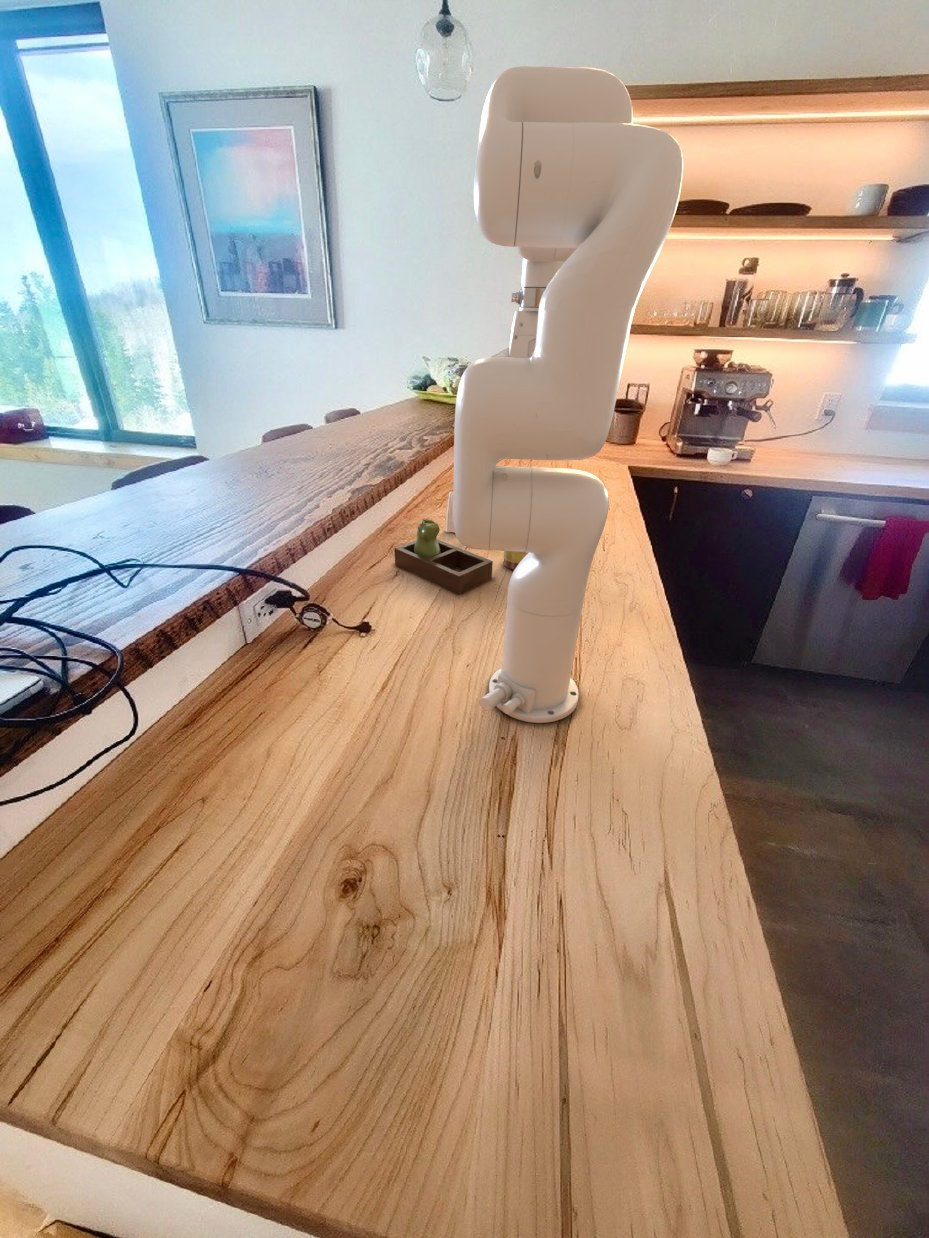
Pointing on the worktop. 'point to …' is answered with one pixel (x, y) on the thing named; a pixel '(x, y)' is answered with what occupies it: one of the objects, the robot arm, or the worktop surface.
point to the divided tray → (446, 566)
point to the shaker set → (450, 514)
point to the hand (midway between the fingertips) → (531, 410)
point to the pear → (427, 539)
